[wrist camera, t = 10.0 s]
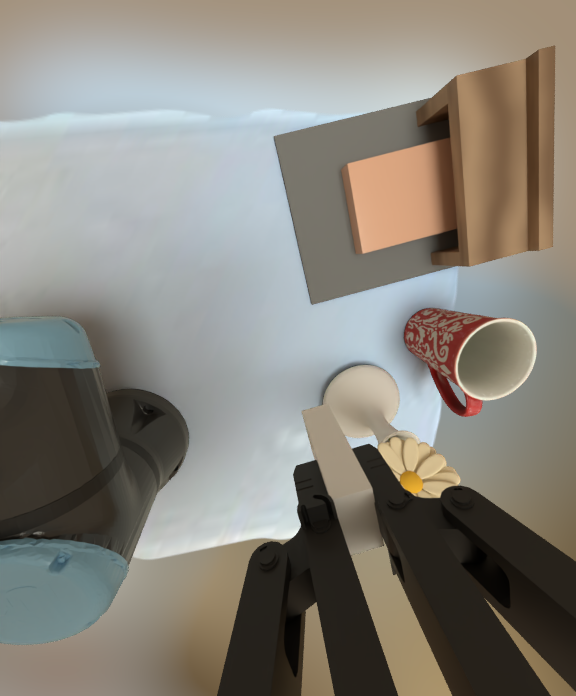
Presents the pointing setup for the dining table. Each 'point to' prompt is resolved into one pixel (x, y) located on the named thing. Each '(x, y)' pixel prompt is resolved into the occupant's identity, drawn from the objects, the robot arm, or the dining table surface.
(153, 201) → the dining table surface
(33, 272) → the dining table surface
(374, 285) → the mat
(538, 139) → the grooved wooden block
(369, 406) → the flower in vase
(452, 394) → the mug
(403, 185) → the tile
